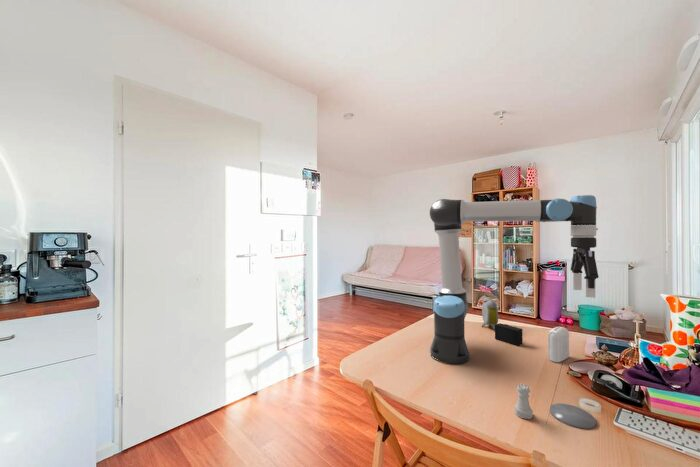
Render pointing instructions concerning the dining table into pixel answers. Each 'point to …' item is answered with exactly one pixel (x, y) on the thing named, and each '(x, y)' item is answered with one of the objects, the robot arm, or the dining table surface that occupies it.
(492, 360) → the dining table surface
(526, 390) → the rook chess piece
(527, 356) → the dining table surface
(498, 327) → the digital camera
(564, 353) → the white rounded block
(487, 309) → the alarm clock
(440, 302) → the robot arm
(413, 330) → the dining table surface
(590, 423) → the grey disc
